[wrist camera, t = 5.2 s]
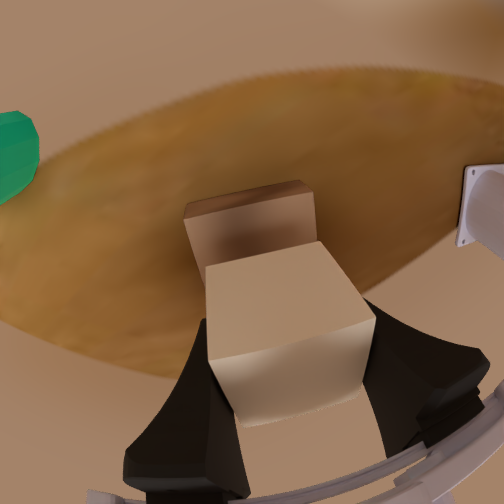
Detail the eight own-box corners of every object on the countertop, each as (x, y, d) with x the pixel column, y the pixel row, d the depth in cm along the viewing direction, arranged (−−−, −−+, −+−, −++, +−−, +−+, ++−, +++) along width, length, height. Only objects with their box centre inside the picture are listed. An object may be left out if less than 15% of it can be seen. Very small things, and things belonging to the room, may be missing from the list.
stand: (299, 180, 16) (313, 191, 14) (308, 272, 20) (319, 293, 18) (186, 204, 16) (183, 219, 14) (214, 294, 20) (215, 317, 18)
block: (319, 240, 12) (376, 317, 7) (322, 322, 14) (358, 397, 10) (205, 266, 12) (208, 361, 7) (231, 344, 14) (243, 428, 10)
